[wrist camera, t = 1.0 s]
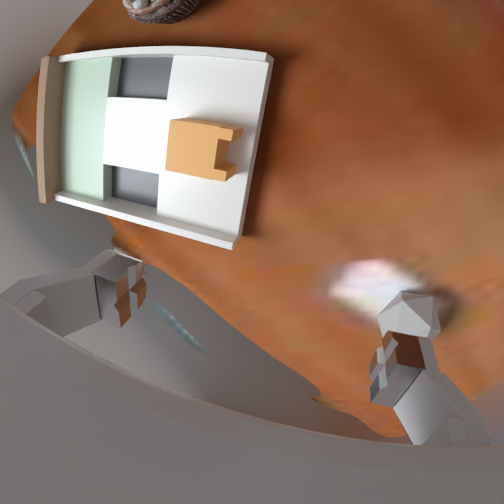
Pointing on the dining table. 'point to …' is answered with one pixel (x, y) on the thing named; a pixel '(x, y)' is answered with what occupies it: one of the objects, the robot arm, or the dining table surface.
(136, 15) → the cupcake
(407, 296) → the die
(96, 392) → the robot arm
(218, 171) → the block
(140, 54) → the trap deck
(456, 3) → the dining table surface
